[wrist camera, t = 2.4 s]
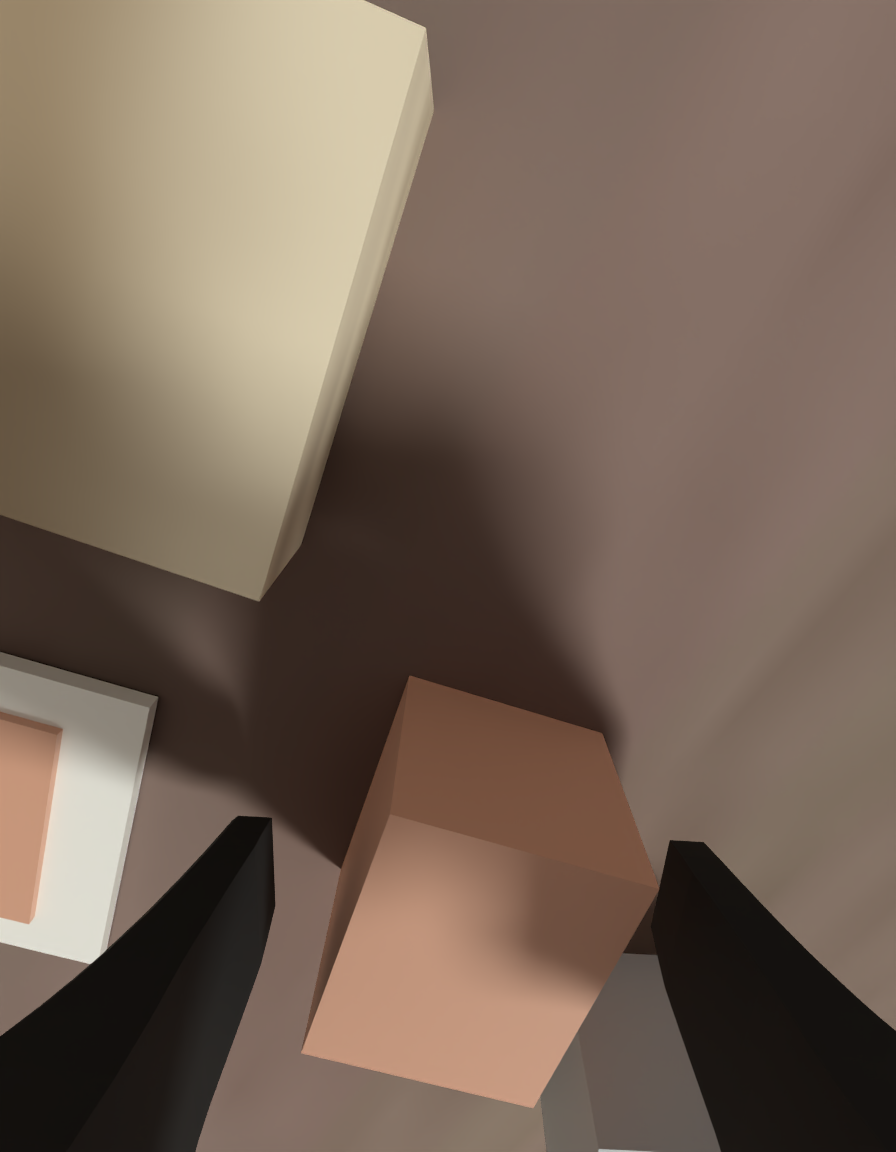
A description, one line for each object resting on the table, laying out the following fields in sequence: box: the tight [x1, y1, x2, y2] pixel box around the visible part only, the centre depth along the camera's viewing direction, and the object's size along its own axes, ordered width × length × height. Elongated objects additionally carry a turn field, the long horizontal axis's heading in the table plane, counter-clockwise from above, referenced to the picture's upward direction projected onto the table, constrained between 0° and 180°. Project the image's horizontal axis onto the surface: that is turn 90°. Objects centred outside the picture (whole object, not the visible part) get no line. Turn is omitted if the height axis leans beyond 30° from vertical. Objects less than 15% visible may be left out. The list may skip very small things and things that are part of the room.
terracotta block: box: [301, 675, 659, 1108], centre depth 12 cm, size 4×5×4 cm
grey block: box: [540, 953, 721, 1152], centre depth 14 cm, size 4×5×4 cm
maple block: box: [0, 0, 434, 601], centre depth 9 cm, size 7×7×3 cm
